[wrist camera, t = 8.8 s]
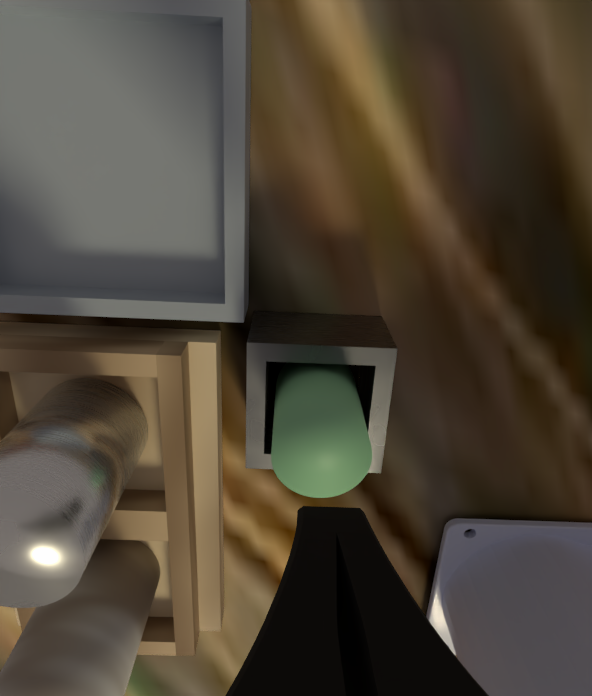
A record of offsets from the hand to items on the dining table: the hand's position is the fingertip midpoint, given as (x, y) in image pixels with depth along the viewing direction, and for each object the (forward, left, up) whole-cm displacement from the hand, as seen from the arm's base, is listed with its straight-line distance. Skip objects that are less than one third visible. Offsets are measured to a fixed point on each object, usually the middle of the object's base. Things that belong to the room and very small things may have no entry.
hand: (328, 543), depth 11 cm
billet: (+8, +2, -8) cm, 11 cm away
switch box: (0, 0, -9) cm, 9 cm away
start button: (0, 0, -7) cm, 7 cm away
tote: (+7, -7, -9) cm, 13 cm away
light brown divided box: (+8, +6, -9) cm, 13 cm away
